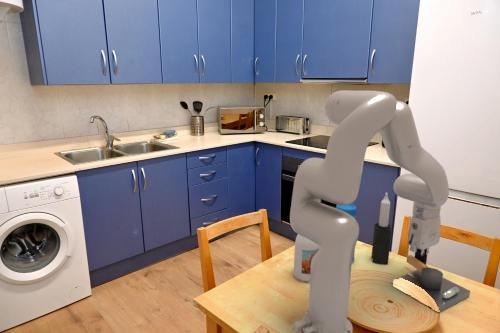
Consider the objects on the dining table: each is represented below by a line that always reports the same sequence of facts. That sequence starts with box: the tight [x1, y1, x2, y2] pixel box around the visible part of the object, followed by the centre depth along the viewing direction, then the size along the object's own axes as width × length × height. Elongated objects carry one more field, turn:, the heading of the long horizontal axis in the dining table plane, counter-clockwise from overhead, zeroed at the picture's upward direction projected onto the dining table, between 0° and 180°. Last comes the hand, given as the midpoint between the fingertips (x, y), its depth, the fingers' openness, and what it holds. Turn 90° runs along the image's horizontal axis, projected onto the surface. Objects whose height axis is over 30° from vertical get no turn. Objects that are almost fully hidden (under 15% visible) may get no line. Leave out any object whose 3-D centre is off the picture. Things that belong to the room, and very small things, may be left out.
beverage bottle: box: [335, 203, 357, 264], centre depth 120 cm, size 8×8×20 cm
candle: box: [371, 192, 392, 265], centre depth 118 cm, size 5×5×25 cm
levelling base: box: [400, 269, 471, 313], centre depth 103 cm, size 15×15×4 cm
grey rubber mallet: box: [405, 254, 444, 290], centre depth 106 cm, size 13×6×4 cm, turn 15°
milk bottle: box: [293, 233, 319, 283], centre depth 109 cm, size 8×8×20 cm
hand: (419, 264), depth 111 cm, fingers closed
